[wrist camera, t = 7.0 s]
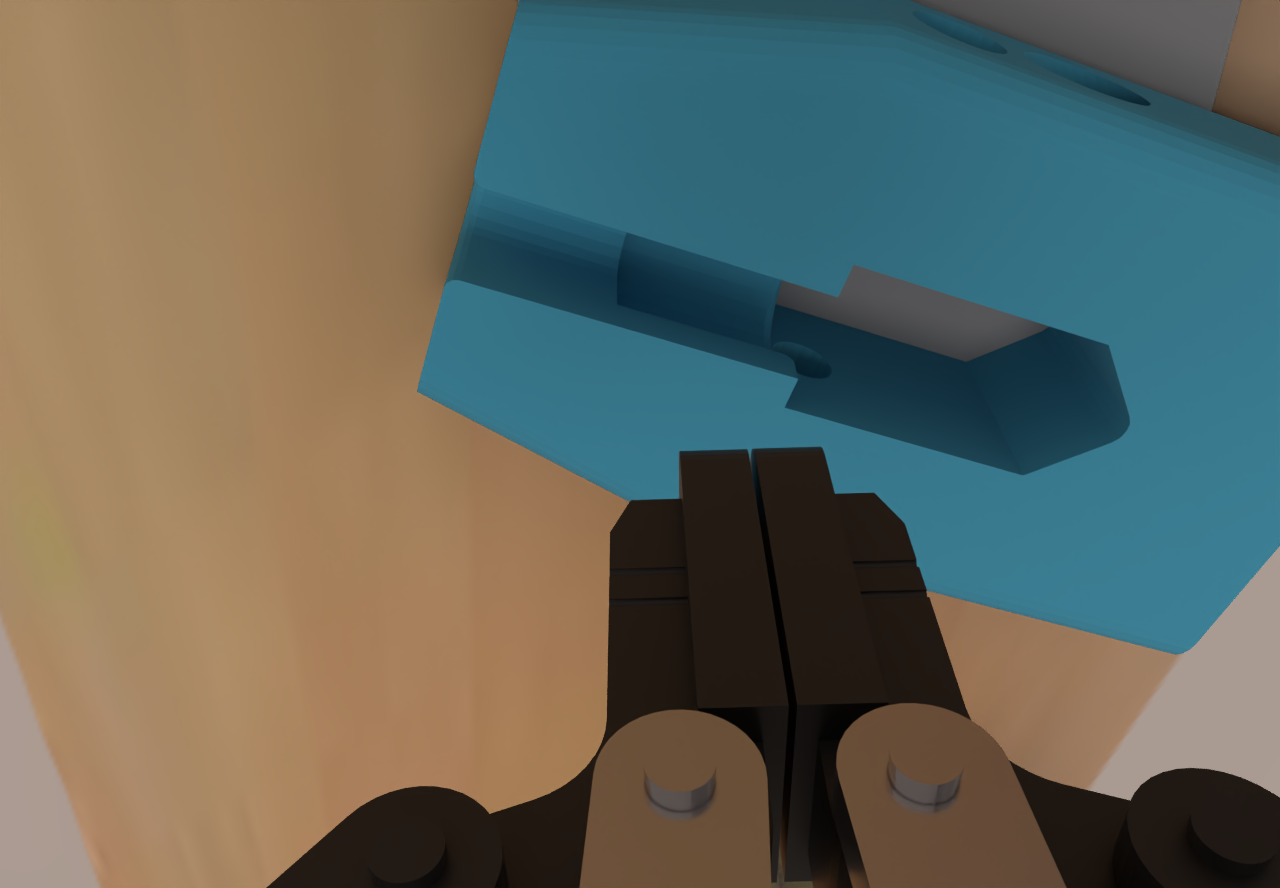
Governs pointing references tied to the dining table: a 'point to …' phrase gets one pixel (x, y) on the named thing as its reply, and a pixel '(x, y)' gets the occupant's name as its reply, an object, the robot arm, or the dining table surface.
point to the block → (901, 248)
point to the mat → (1080, 31)
